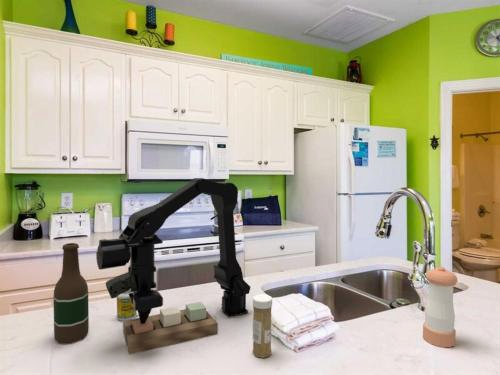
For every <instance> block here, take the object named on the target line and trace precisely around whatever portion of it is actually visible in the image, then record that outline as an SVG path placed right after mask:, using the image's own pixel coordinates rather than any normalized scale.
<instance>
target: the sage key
mask: <svg viewBox="0 0 500 375" xmlns="http://www.w3.org/2000/svg"><path fill="white" fill-rule="evenodd" d="M185 309H186V316H187V318H188V319H189V320H190V322H191V321H196V320H201V319H206V311H207V307H206V305H204V303H203V302H202V301H198V302H192V303H191V302H190V303H186V304H185Z"/></svg>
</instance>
